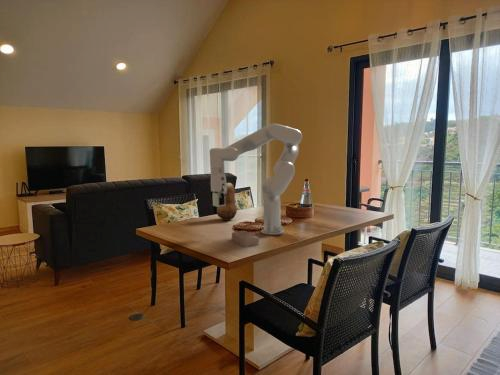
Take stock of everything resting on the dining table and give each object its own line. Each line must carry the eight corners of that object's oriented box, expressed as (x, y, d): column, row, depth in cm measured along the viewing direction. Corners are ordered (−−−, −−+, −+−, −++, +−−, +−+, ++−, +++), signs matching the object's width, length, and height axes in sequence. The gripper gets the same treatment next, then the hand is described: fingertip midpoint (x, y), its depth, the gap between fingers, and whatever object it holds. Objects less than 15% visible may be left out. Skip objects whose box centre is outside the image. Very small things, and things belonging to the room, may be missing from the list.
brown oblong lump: (213, 219, 253) (212, 183, 250) (229, 217, 261) (228, 181, 258) (224, 223, 242) (223, 184, 239) (241, 220, 250) (240, 182, 247)
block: (225, 205, 204) (224, 192, 203) (217, 206, 201) (217, 193, 200) (220, 204, 208) (220, 192, 207) (213, 205, 205) (212, 193, 204)
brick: (259, 245, 188) (259, 236, 188) (244, 247, 185) (244, 238, 184) (245, 238, 203) (245, 230, 203) (231, 240, 199) (231, 232, 199)
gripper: (232, 171, 198) (233, 204, 200) (215, 169, 211) (216, 201, 214) (220, 172, 193) (221, 206, 196) (203, 170, 207) (205, 203, 209)
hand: (219, 203), depth 205 cm, fingers closed on block, 5 cm apart
